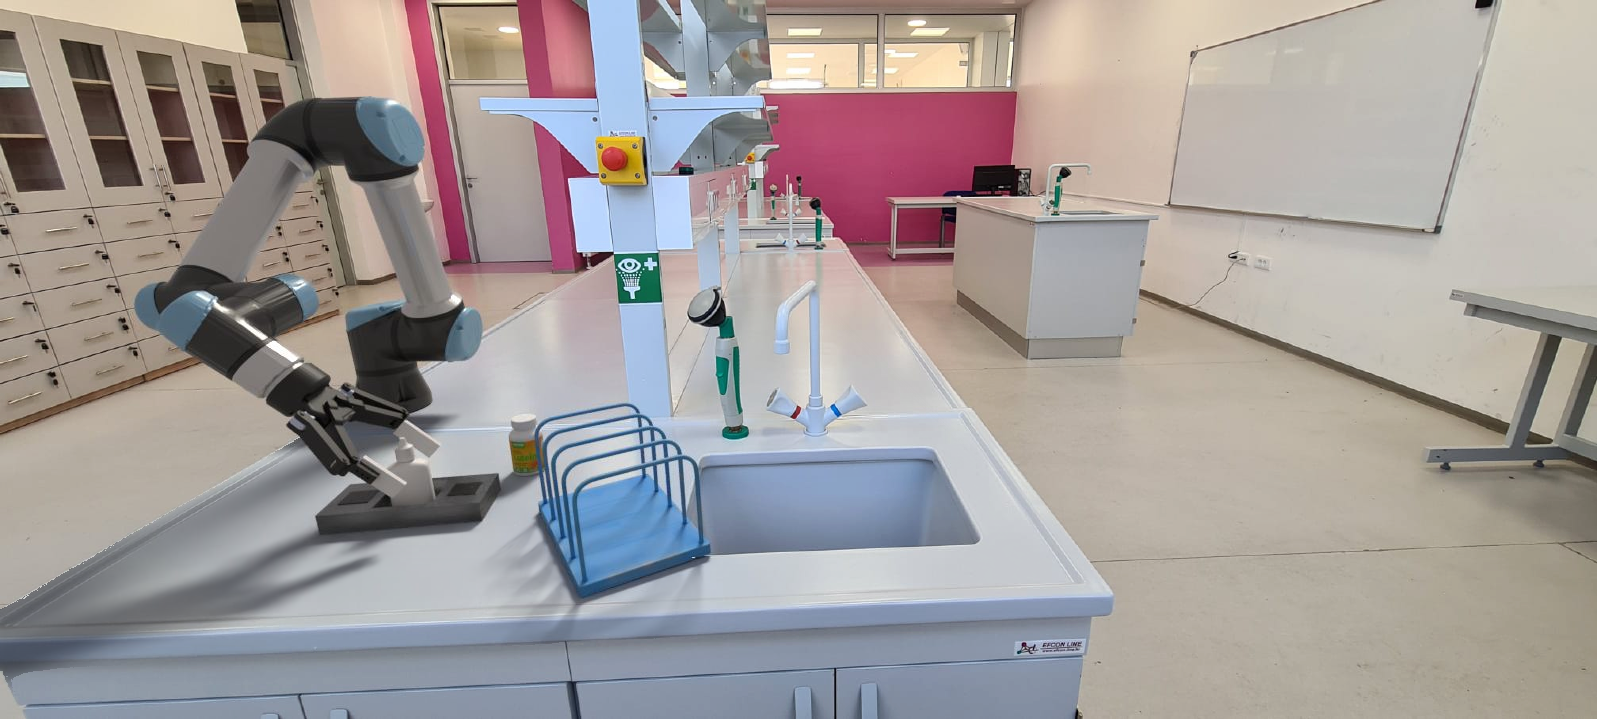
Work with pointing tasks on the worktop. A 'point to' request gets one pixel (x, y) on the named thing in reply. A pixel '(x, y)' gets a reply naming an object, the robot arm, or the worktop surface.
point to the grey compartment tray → (410, 506)
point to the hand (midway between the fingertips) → (419, 469)
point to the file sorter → (618, 512)
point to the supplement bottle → (525, 445)
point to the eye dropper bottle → (411, 477)
